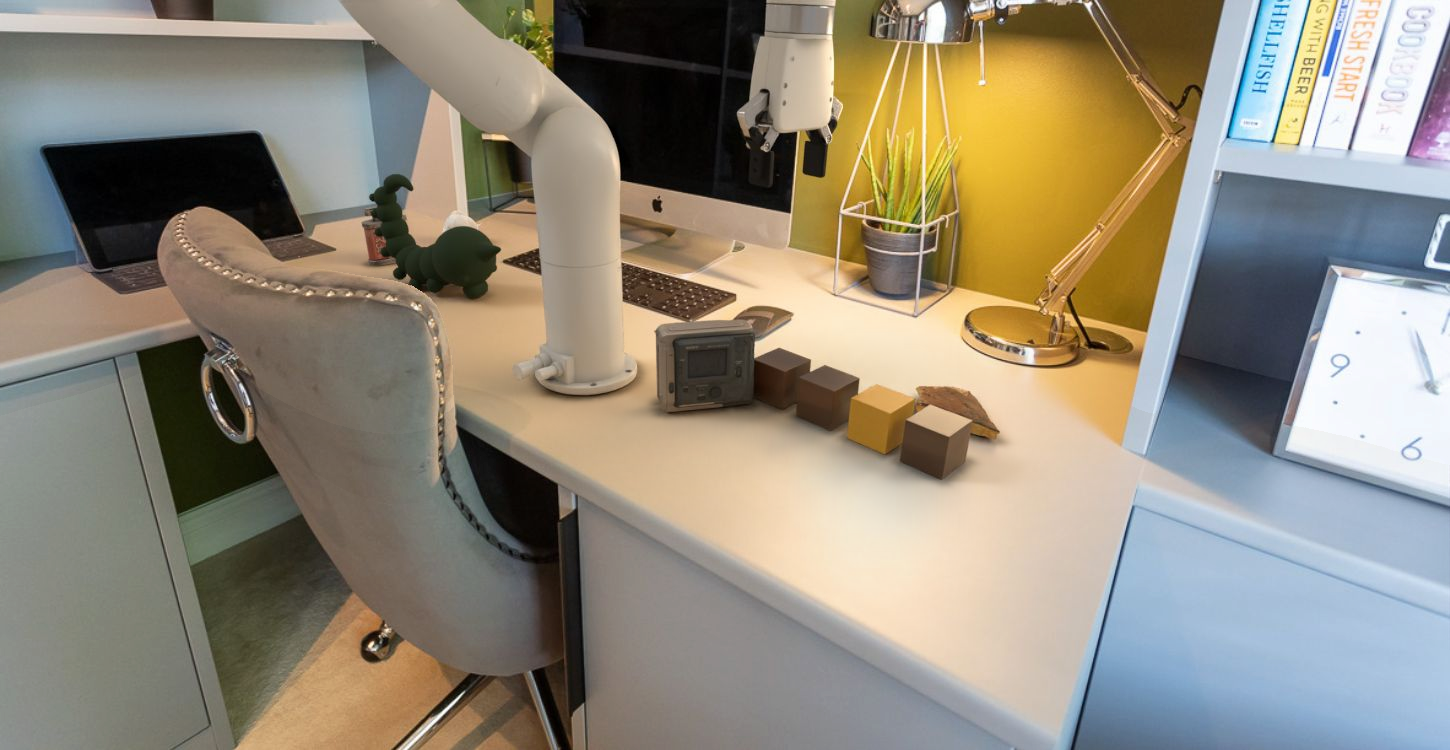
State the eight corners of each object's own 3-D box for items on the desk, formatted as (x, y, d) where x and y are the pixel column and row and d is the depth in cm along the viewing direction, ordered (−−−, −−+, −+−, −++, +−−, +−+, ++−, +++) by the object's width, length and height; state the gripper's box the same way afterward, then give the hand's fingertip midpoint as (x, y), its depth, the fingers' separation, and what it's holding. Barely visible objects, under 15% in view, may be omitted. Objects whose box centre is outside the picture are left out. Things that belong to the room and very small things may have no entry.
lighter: (405, 253, 144) (396, 199, 140) (416, 257, 142) (408, 202, 138) (364, 263, 138) (354, 207, 134) (375, 267, 136) (366, 210, 132)
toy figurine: (374, 295, 128) (487, 310, 117) (346, 178, 121) (464, 182, 110) (419, 280, 136) (529, 293, 125) (395, 168, 129) (510, 171, 117)
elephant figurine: (439, 241, 152) (435, 210, 149) (481, 237, 155) (478, 207, 153) (445, 250, 146) (441, 219, 144) (488, 246, 150) (485, 215, 147)
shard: (998, 443, 86) (1000, 429, 86) (929, 443, 86) (931, 428, 85) (967, 398, 96) (970, 385, 95) (906, 398, 96) (908, 385, 95)
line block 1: (782, 410, 92) (784, 371, 90) (750, 396, 95) (752, 358, 93) (808, 396, 96) (811, 359, 93) (776, 383, 99) (779, 347, 97)
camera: (745, 389, 97) (748, 314, 93) (756, 411, 92) (760, 332, 88) (653, 396, 95) (652, 319, 90) (660, 419, 90) (659, 338, 85)
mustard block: (884, 454, 84) (890, 413, 81) (846, 438, 87) (850, 397, 85) (909, 438, 87) (915, 398, 85) (871, 422, 90) (876, 383, 88)
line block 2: (830, 431, 88) (834, 391, 86) (795, 415, 91) (798, 377, 89) (855, 416, 91) (860, 377, 89) (821, 402, 94) (824, 364, 92)
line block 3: (941, 480, 79) (949, 437, 77) (899, 461, 83) (905, 419, 80) (965, 461, 83) (973, 420, 81) (923, 444, 86) (930, 404, 84)
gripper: (821, 23, 94) (809, 167, 102) (719, 21, 83) (714, 183, 90) (873, 26, 90) (856, 177, 97) (772, 24, 78) (761, 195, 86)
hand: (787, 180), depth 94 cm, fingers open, 9 cm apart
